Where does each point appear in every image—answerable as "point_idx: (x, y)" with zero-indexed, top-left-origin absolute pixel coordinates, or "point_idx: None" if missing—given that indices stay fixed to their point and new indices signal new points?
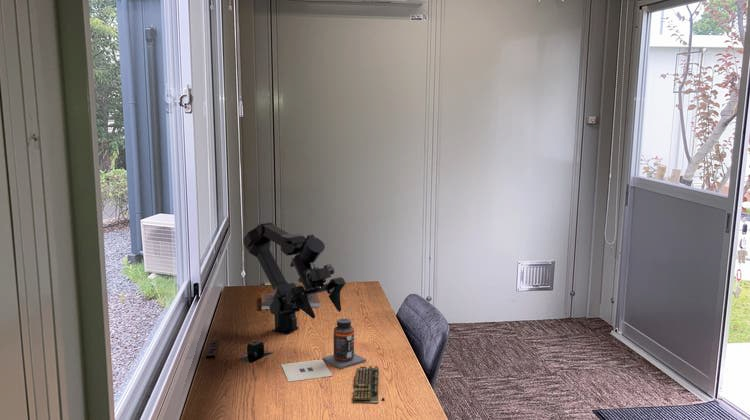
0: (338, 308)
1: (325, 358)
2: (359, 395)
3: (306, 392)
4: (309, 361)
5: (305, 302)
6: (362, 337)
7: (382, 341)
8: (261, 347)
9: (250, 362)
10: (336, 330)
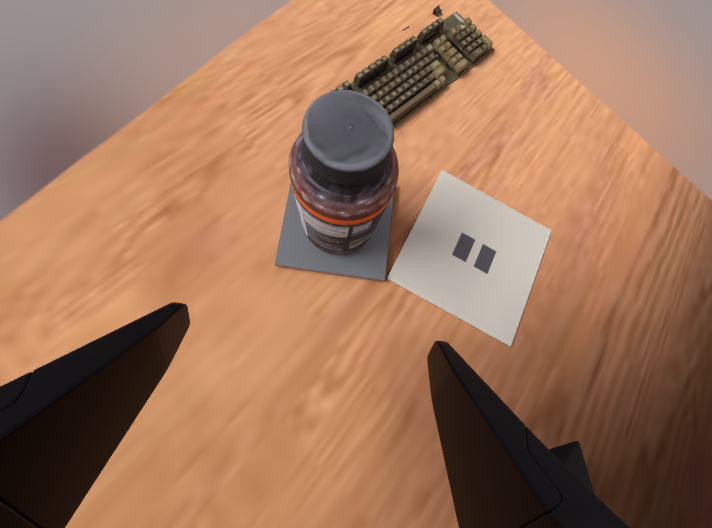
0: (173, 329)
1: (383, 266)
2: (477, 40)
3: (543, 155)
4: (429, 296)
5: (591, 499)
6: None
7: (92, 245)
8: None
9: (578, 446)
10: (397, 167)
